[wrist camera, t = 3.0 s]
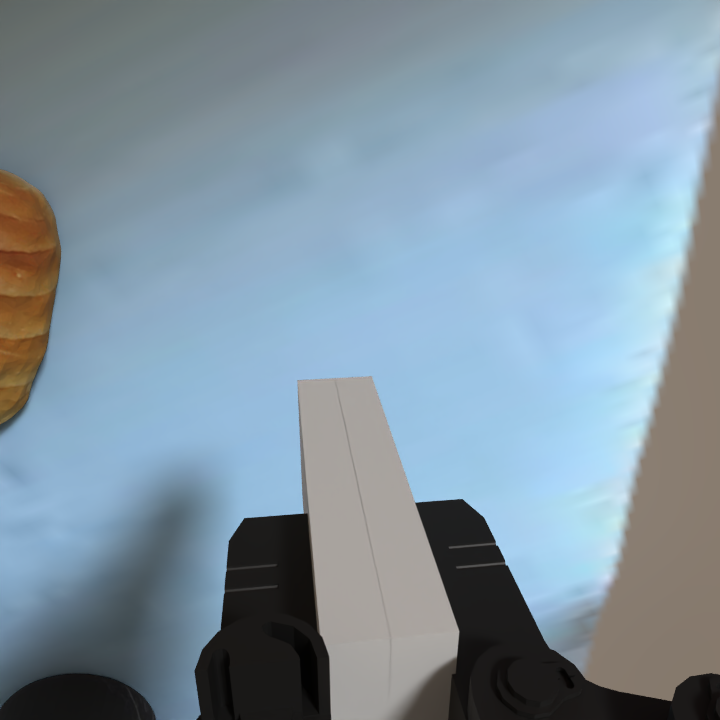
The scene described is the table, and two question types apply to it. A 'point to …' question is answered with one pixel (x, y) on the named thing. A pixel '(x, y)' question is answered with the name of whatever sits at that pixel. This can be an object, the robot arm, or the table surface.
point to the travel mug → (76, 700)
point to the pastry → (24, 287)
